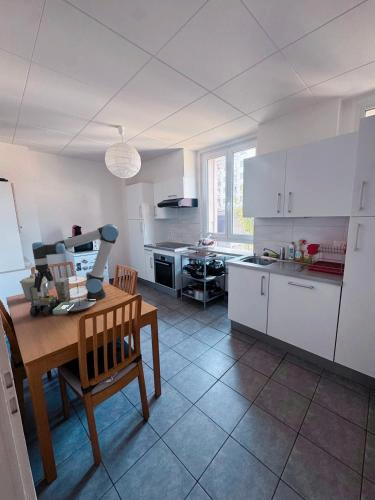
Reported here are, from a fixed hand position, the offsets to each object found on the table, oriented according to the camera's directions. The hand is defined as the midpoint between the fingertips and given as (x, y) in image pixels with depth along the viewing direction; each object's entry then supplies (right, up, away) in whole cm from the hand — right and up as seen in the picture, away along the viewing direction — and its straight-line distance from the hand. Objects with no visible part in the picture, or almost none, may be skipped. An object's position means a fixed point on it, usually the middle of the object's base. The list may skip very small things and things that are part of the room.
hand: (45, 292), depth 154 cm
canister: (-29, -11, +30) cm, 43 cm away
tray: (+11, -14, +4) cm, 18 cm away
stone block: (+4, -12, +18) cm, 22 cm away
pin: (0, -5, +1) cm, 5 cm away
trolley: (-1, -15, +2) cm, 15 cm away
